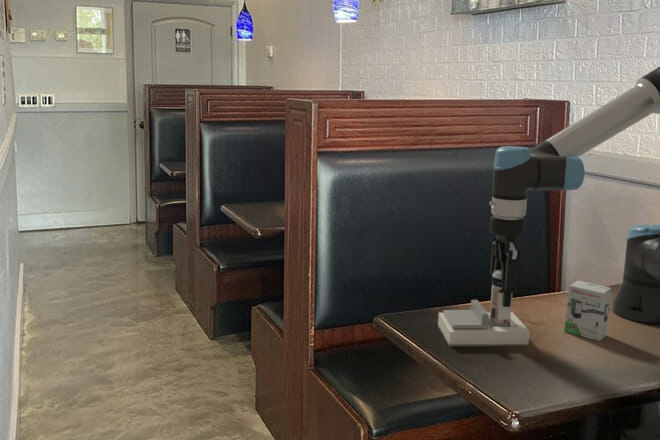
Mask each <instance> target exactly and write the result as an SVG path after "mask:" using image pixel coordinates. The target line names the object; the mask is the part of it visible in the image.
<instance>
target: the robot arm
mask: <svg viewBox="0 0 660 440" xmlns="http://www.w3.org/2000/svg"><path fill="white" fill-rule="evenodd" d="M651 114H657V115H660V66H658V67H657V68H655V69H653V70H652V71H650V72H648V73H646V74H645V75H643V76H642V77H640V78H639V79H637V80H636V82H635V86H634V87H632V88H630V89H628V90H626V91H625V92H623V93H621V94H620V95H618V96H616V97H615V98H614V99H612V100H610V101H609V102H607V103H605V104H604V105H602V106H600V107H598V108H596V109H595V110H593V111H592V112H591V113H589V114H587V115H586V116H584V117H582V118H580V119H578V120H577V121H575V122H574V123H572V124H570V125H568V126H567V127H565V128H564V129H561V130H560V131H559V132H557V133H555V134H553V135H552V136H551V137H548V138H546V139H545V140H543V141H542V142H540V143H538V144H537V145H534V146H529V147H526V146H519V145H518V146H516V145H515V146H514V145H505V146H504V145H503V146H500V147H498V148H497V149H496V150H495V155H494V161H493V162H494V163H493V166H492V168H493V172H492V173H493V175H492V176H493V177H492V193H491V194H492V195H491V200H490V201H489V206H491V207H490V208H491V209H490V212H491V213H490V214H492V215H491V216H490V217H489V219H490V221H489V232H490V233H491V234H494V235H495V236H492V237H491V255H490V257H491V258H490V269H489V277H490V278H491V279H492V278H493V276H492V275H493V273H494V272H495V270H501V287H502V289H501V290H498V292H499V293H500V294H499V307H498V319H499V320H510V318H511V312H512V305H513V303H512V302H513V293H514V294H516V293H517V290H518V278H519V268H520V267H519V264H520V258H521V254H522V252H521V250H519V249H518V244H517V242H516V241H517V239H516V238H517V237H519V236H523V235H524V233H525V226H526V225H525V222H526V219H525V216H526V214H527V205H528V204H527V202H528V192H529V191H563V192H566V191H575V190H578V189H580V187H582V185H583V184H584V183H583V182H584V181H585V171H586V170H585V165H584V162H583V160H582V159H581V158H580V157H581V156H582V155H584V154H586V153H588V152H589V151H591V150H593V149H595V148H596V147H598V146H600V145H601V144H602V143H605V142H606V141H608V140H610V139H611V138H614V137H615V136H617V135H618V134H620V133H621V132H623V131H625V130H626V129H628V128H629V127H631V126H633V125H635V124H636V123H638V122H640V121H641V120H643V119H645V118H647V117H648V116H650V115H651ZM624 256H625V257H624V258H625V259H624V267H623V275H622V276H623V277H622V282H621V284H620V285H619V288H618V290H617V292H616V294H615V296H614V298H613V299H612V305H611V306H612V307H611V310H612V312H613V313H615V314H616V315H618V316H620V317H622V318H625V319H628V320H631V321H635V322H639V323H645V324H657V325H659V324H660V225H658V224H635V225H632V226H631V227H630V228H629V230H628V233H627V238H626V249H625V255H624Z"/></svg>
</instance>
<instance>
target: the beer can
mask: <svg viewBox="0 0 660 440" xmlns="http://www.w3.org/2000/svg"><path fill="white" fill-rule="evenodd" d="M492 276H493V278H491V294H490V295H491V296H490V309H489V312H490V318H489V319H490V321H492V322H493V323H495V324H507V323H509V322H510V320H499V319H498V307H499V294H500V293H499V292H498V290H501V289H502V287H501V270H495V272H494V273H493V275H492Z"/></svg>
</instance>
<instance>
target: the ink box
mask: <svg viewBox="0 0 660 440" xmlns="http://www.w3.org/2000/svg"><path fill="white" fill-rule="evenodd" d="M612 289H613V288H611V287H609V286H604V285H601V284H600V285H599V284H597V283H596V284H595V283H592V282H587V281H583V280H576V281H574V282H572V283H571V284H570V285H569V288H568V295H567V296H568V297H567V305H566V313H565V319H564V320H565V322H564V330H563V331H564V332H565V333H568V334H572V335H577V336H579V337H583V338H587V339H591V340H595V341H598V342H599V341H602V339H603V338H604V337H606V336H607V329H608V321H609V314H610V306H611V299H612V298H611V297H612Z"/></svg>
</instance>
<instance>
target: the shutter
mask: <svg viewBox="0 0 660 440" xmlns="http://www.w3.org/2000/svg"><path fill="white" fill-rule="evenodd" d="M487 312H488V311H487V310H486V309H485V308H484V306H483V305H482V304H481V303H480V301H479V300H478V299H471V301H470V309H443V311H442V313H443V314H444V316H445V317H446V319H447V320H448V322H449V324H450V325H451V327H452V328H488V317H489V314H488V313H487Z"/></svg>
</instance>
